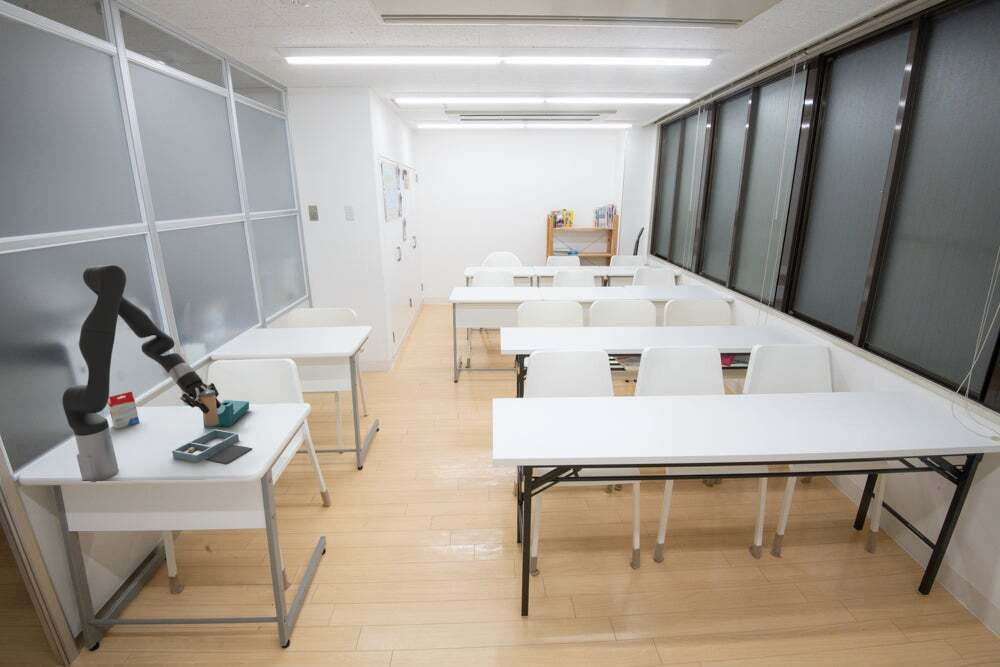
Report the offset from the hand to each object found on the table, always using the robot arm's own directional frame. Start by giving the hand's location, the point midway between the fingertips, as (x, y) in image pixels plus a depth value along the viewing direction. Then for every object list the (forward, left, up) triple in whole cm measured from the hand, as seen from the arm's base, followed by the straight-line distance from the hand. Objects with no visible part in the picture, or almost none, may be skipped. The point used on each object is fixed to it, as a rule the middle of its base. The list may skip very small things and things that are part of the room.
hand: (213, 409), depth 189 cm
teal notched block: (+20, +17, -16) cm, 30 cm away
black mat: (-5, -10, -15) cm, 19 cm away
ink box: (+2, +54, -15) cm, 56 cm away
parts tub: (-4, +2, -15) cm, 16 cm away
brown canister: (0, +2, -6) cm, 6 cm away
